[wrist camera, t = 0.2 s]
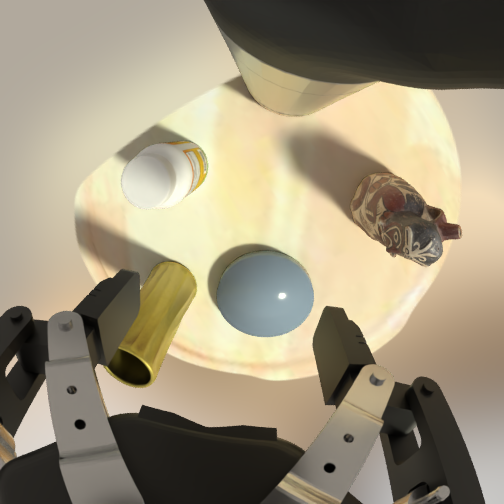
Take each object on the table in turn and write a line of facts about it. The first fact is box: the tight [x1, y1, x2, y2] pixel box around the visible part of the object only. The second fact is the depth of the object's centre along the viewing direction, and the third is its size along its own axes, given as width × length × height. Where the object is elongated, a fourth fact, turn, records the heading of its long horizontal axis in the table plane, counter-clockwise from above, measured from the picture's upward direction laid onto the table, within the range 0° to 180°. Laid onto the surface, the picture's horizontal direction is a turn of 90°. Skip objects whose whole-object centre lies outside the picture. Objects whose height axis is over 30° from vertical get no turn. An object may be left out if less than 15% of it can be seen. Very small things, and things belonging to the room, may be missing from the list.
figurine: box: [350, 173, 462, 267], centre depth 21 cm, size 7×7×12 cm
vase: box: [103, 262, 197, 388], centre depth 26 cm, size 6×6×14 cm
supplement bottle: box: [121, 141, 208, 209], centre depth 22 cm, size 5×5×10 cm
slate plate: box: [217, 251, 314, 337], centre depth 31 cm, size 11×11×2 cm
